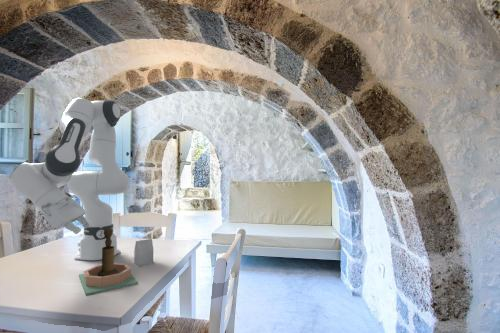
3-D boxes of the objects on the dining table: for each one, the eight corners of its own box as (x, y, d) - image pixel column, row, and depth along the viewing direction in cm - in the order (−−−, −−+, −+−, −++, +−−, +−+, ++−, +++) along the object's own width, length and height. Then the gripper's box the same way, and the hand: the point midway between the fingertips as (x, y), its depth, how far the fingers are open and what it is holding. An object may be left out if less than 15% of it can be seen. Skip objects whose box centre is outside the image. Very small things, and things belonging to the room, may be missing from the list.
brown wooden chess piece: (120, 274, 108) (121, 226, 108) (113, 281, 101) (114, 230, 101) (102, 274, 107) (103, 226, 107) (94, 281, 101) (94, 230, 101)
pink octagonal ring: (82, 276, 106) (82, 268, 106) (123, 268, 114) (124, 261, 114) (87, 289, 94) (87, 280, 94) (133, 280, 103) (133, 271, 103)
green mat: (78, 276, 107) (78, 274, 107) (124, 267, 117) (124, 266, 117) (85, 295, 91) (85, 293, 91) (138, 283, 101) (138, 282, 101)
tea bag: (153, 263, 123) (153, 239, 123) (137, 266, 119) (137, 242, 119) (149, 260, 126) (150, 238, 126) (134, 264, 122) (134, 240, 122)
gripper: (46, 199, 91) (80, 229, 93) (71, 193, 111) (98, 217, 113) (30, 213, 90) (64, 243, 92) (58, 204, 110) (86, 229, 112)
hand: (83, 229), depth 103 cm, fingers open, 8 cm apart
